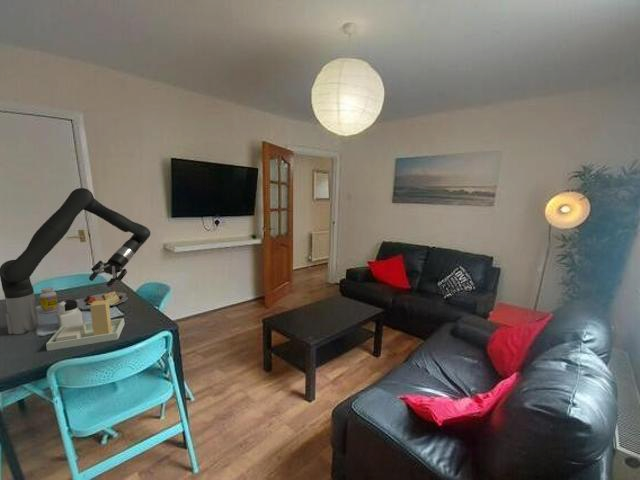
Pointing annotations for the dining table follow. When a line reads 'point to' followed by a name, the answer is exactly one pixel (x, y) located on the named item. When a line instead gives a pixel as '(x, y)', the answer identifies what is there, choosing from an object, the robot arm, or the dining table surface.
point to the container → (69, 313)
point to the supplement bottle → (48, 300)
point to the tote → (87, 336)
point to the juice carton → (101, 317)
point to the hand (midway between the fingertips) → (99, 282)
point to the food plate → (111, 296)
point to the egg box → (72, 332)
